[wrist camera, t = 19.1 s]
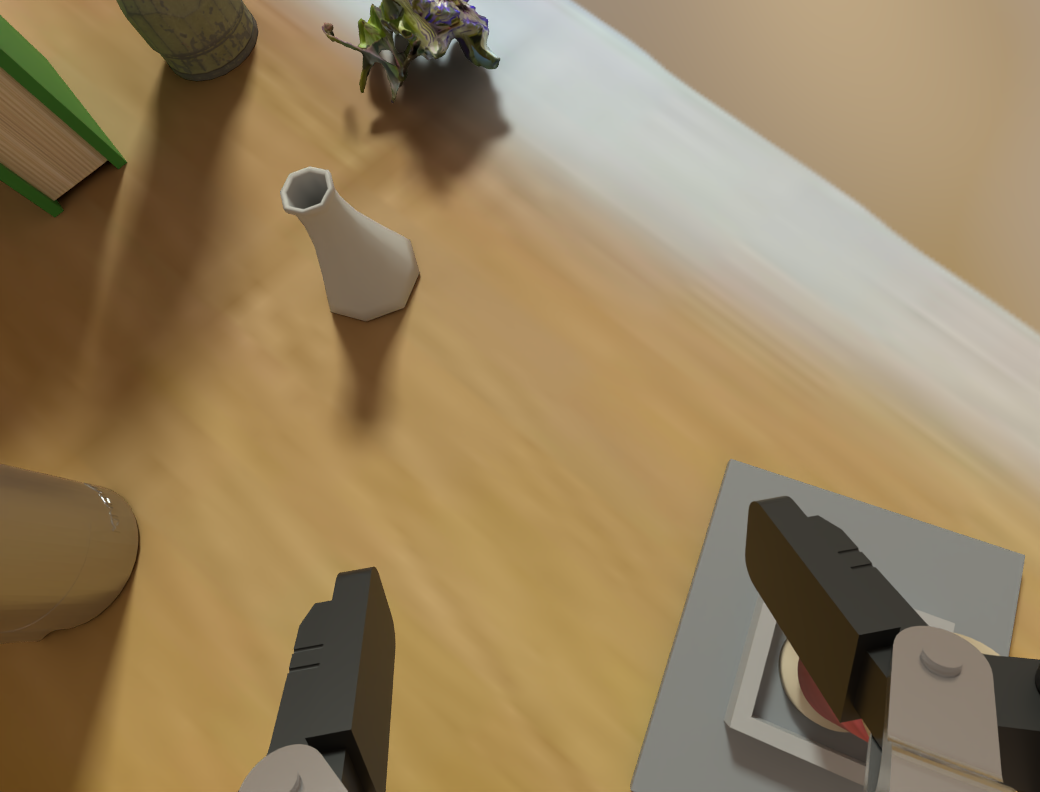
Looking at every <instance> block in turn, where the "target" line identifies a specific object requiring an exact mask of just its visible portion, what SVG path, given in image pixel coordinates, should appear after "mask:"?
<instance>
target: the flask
mask: <svg viewBox="0 0 1040 792" xmlns="http://www.w3.org/2000/svg"><path fill="white" fill-rule="evenodd" d="M280 194H281V199H282V203H283V208H284V210H285V212H287V213H288V214H293V215H296V216H297V217H298V219H299V220H300V221H301V222H302V224H303V225H304V226H305V228H306V230H307V232H308V234H309V236H310V238H311V240H312V242H313V244H314V246H315V249H316V253H317V257H318V261H319V264H320V268H321V272H322V275H323V280H324V284H325V289H326V293H327V298H328V302H329V306H330V310H331V312H333V313H337V314H341V315H344V316H348V317H352V318H355V319H359V320H363V321H369V320H371V319H374V318H377V317H380V316H382V315H385V314H388V313H391V312H394V311H396V310H399V309H402V308H404V307H405V305H406V303H407V300H408V298H409V296H410V293H411V291H412V289H413V287H414V284H415V282H416V280H417V277H418V275H419V273H420V272H419V269H418V265H417V262H416V258H415V255H414V252H413V248H412V245H411V241H410V240H409V239H407V238H405V237H404V236H402V235H400V234H398V233H396V232H394V231H392V230H390V229H388V228H386V227H384V226H382V225H380V224H379V223H377V222H375V221H373V220H372V219H370V218H368V217H367V216H365V215H363V214H361V213H360V212H358V211H356V210H355V209H354V208H353V207H352V206H351V205H349V204H348V203H347V202H346V201H345V200H344V199H343V198H342V197H341V196H340V195H339V194H338V192H337V191H336V190H335V188H334V184H333V180H332V176H331V173H330V172H329V170H324V169H320V168H315V167H307V168H304V169H302V170H299V171H296V172H294V173H291V174H289V176H288V178H287V180H286V182H285V184H284V186H283V187H282V189H281V191H280Z"/></svg>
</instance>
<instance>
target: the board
mask: <svg viewBox="0 0 1040 792" xmlns="http://www.w3.org/2000/svg"><path fill="white" fill-rule="evenodd" d="M781 496H789V497H790V498H792V499H793V500H794V502H795V503H796V504H797V505H798V506H799V507H800V509H801V510H802V511H803V512H804V513H805V515H806V516H807V517H810V516H816V515H819V516H820V517H822V518H824V519H825V520H827V521H829V522H830V523H832V524H834V525H835V526H837V527H839V528H840V529H842V530H843V531H844V532H845V533H846V535H847V536H848V537H849V538H850V539H851V540H852V541H853V542H854V543H855V545H856V546H857V547H858V549H859V551H860V552H863V553H864V555H865V556H866V557H867V558H868V559H869V560H870V561H871V562H872V565H873V567H876V568H877V569H878V570H879V571H880V572H881V573H882V575H883V576H884V577H885V578H886V579H887V580H888V581H889V582H890V583H891V585H892V586H893V587H894V588H895V589H896V590H897V591H898V592H899V593H900V595H901V596H902V597H903V598H904V599H905V600H906V601H907V602H908V603H909V605H910V606H911V607H912V608H913V609H914V610H915V611H916V612H917V613H918V615H919V616H920V617H921V618H922V619H923V620H924V621H925V622H926V623H927V624H928V625H929V626H931V627H936V628H940V629H944V630H947V631H949V632H953V633H957V634H961V635H964V636H967V637H970V638H972V639H974V640H977V641H979V642H981V643H983V644H984V645H986V646H988V647H989V648H991V649H992V650H994V651H995V652H996V653H998V654H999V655H1000V656H1006V657H1008V656H1009V650H1010V644H1011V638H1012V632H1013V626H1014V620H1015V614H1016V608H1017V602H1018V596H1019V590H1020V584H1021V577H1022V571H1023V565H1024V559H1025V555H1023V554H1019V553H1016V552H1013V551H1010V550H1007V549H1004V548H1001V547H998V546H995V545H992V544H989V543H986V542H983V541H980V540H977V539H974V538H971V537H968V536H965V535H962V534H959V533H955V532H952V531H949V530H946V529H943V528H940V527H937V526H934V525H931V524H928V523H925V522H922V521H919V520H916V519H913V518H910V517H907V516H904V515H901V514H898V513H894V512H891V511H888V510H885V509H882V508H879V507H876V506H873V505H870V504H867V503H864V502H861V501H858V500H855V499H852V498H849V497H846V496H843V495H840V494H837V493H834V492H830V491H827V490H824V489H821V488H818V487H815V486H812V485H809V484H806V483H803V482H800V481H797V480H794V479H791V478H788V477H785V476H782V475H779V474H776V473H773V472H770V471H766V470H763V469H760V468H757V467H754V466H751V465H748V464H745V463H742V462H739V461H736V460H733V459H730V461H729V462H728V464H727V467H726V471H725V474H724V477H723V480H722V484H721V487H720V490H719V494H718V497H717V500H716V504H715V507H714V510H713V513H712V517H711V520H710V523H709V527H708V530H707V533H706V537H705V540H704V543H703V546H702V550H701V553H700V556H699V560H698V563H697V566H696V570H695V573H694V576H693V579H692V583H691V586H690V589H689V593H688V596H687V599H686V603H685V606H684V609H683V612H682V616H681V619H680V622H679V626H678V629H677V632H676V636H675V639H674V642H673V645H672V649H671V652H670V655H669V659H668V662H667V665H666V669H665V672H664V675H663V678H662V682H661V685H660V688H659V692H658V695H657V698H656V702H655V705H654V708H653V711H652V715H651V718H650V721H649V725H648V728H647V731H646V735H645V738H644V741H643V744H642V748H641V751H640V754H639V758H638V761H637V764H636V768H635V771H634V774H633V777H632V781H631V784H630V787H631V790H632V791H634V792H864V783H865V772H866V761H867V750H868V742H866V741H864V740H863V739H861V738H859V737H857V736H855V735H854V734H852V733H850V732H838V731H834V730H830V729H827V728H825V727H822V726H820V725H819V724H817V723H815V722H813V721H812V720H810V719H809V718H807V717H806V716H804V715H803V714H802V713H801V712H800V711H799V710H797V708H796V707H795V706H794V705H793V704H792V703H791V701H790V700H789V698H788V697H787V695H786V693H785V691H784V689H783V686H782V684H781V680H780V676H779V668H778V662H779V655H780V651H781V648H782V645H783V643H784V642H785V640H786V636H785V635H784V633H783V631H782V630H781V628H780V627H779V625H778V623H777V622H776V620H775V619H774V617H773V615H772V614H771V612H770V611H769V609H768V607H767V606H766V604H765V603H764V601H763V599H762V598H761V596H760V595H759V593H758V591H757V590H756V588H755V587H754V585H753V583H752V581H751V579H750V577H749V574H748V571H747V567H746V562H745V548H746V535H747V522H748V510H749V505H750V503H751V502H753V501H758V500H764V499H769V498H775V497H781Z"/></svg>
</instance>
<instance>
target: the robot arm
mask: <svg viewBox="0 0 1040 792" xmlns="http://www.w3.org/2000/svg"><path fill="white" fill-rule="evenodd" d="M137 550H138V528H137V523H136V519H135V516H134V514H133V512H132V510H131V508H130V506H129V505H128V504H127V502H126V501H125V500H124V499H123V498H122V497H121V496H120V495H118V494H117V493H115V492H114V491H112V490H109V489H106V488H103V487H100V486H95V485H91V484H87V483H82V482H77V481H73V480H69V479H64V478H60V477H56V476H52V475H48V474H43V473H39V472H34V471H30V470H25V469H21V468H16V467H12V466H7V465H3V464H0V644H4V643H19V642H34V641H40V640H42V639H43V638H44V637H45V636H46V635H47V634H49V633H50V632H52V631H55V630H60V629H68V628H73V627H76V626H79V625H81V624H84V623H86V622H88V621H89V620H91V619H93V618H94V617H96V616H98V615H99V614H100V613H101V612H103V611H104V610H105V609H106V608H107V607H108V606H109V605H110V604H111V603H112V602H113V601H114V600H115V598H116V597H117V596H118V595H119V593H120V592H121V591H122V589H123V587H124V586H125V584H126V582H127V580H128V579H129V577H130V574H131V572H132V569H133V566H134V563H135V561H136V555H137ZM745 562H746V567H747V571H748V574H749V577H750V579H751V581H752V583H753V585H754V587H755V588H756V590H757V591H758V593H759V595H760V596H761V598H762V599H763V601H764V603H765V604H766V606H767V607H768V609H769V611H770V612H771V614H772V615H773V617H774V619H775V620H776V622H777V623H778V625H779V627H780V628H781V630H782V631H783V633H784V635H785V636H786V638H787V639H788V641H789V642H790V644H791V646H792V647H793V649H794V650H795V652H796V654H797V655H798V657H799V658H800V660H801V662H802V663H803V665H804V666H805V668H806V670H807V671H808V673H809V674H810V676H811V678H812V679H813V681H814V682H815V684H816V686H817V687H818V689H819V690H820V692H821V693H822V695H823V697H824V698H825V700H826V701H827V703H828V705H829V706H830V708H831V709H832V711H833V713H834V714H835V716H836V717H837V719H838V721H839V722H840V723H842V722H847V721H853V720H858V719H862V720H863V722H864V723H865V725H866V726H867V728H868V729H869V731H870V736H869V741H868V750H867V761H866V772H865V783H864V792H1015V790H1017V792H1040V660H1037V659H1027V658H1017V657H1006V656H996V655H988V654H983V653H981V652H980V651H979V650H978V649H977V648H976V647H975V646H974V645H972V644H971V643H970V642H968V641H967V640H965V639H964V638H962V637H960V636H958V635H956V634H954V633H952V632H949V631H947V630H944V629H940V628H936V627H931V626H929V625H928V624H927V623H926V622H925V621H924V620H923V619H922V618H921V617H920V616H919V615H918V613H917V612H916V611H915V610H914V609H913V608H912V607H911V606H910V605H909V603H908V602H907V601H906V600H905V599H904V598H903V597H902V596H901V595H900V593H899V592H898V591H897V590H896V589H895V588H894V587H893V586H892V585H891V583H890V582H889V581H888V580H887V579H886V578H885V577H884V576H883V575H882V573H881V572H880V571H879V570H878V569H877V568H876V567H873V565H872V562H871V561H870V560H869V559H868V558H867V557H866V556H865V555H864V553H863V552H860V551H859V549H858V547H857V546H856V545H855V543H854V542H853V541H852V540H851V539H850V538H849V537H848V536H847V535H846V533H845V532H844V531H843V530H842V529H840V528H839V527H837V526H835V525H834V524H832V523H830V522H829V521H827V520H825V519H824V518H822V517H820V516H819V515H816V516H810V517H807V516H806V515H805V513H804V512H803V511H802V510H801V509H800V507H799V506H798V505H797V504H796V503H795V502H794V500H793V499H792V498H790V497H789V496H781V497H775V498H769V499H764V500H758V501H753V502H751V503H750V505H749V510H748V522H747V535H746V548H745ZM394 660H395V631H394V624H393V619H392V615H391V612H390V609H389V606H388V602H387V599H386V596H385V593H384V589H383V586H382V583H381V580H380V576H379V573H378V571H377V569H376V568H375V567H370V568H365V569H359V570H353V571H348V572H342V573H339V574H338V575H337V578H336V583H335V588H334V593H333V598H332V601H326V602H321V603H315V604H314V606H313V607H312V608H311V610H310V611H309V613H308V614H307V616H306V617H305V619H304V620H303V621H302V623H301V624H300V626H299V630H298V634H297V638H296V642H295V646H294V654H292V658H291V662H290V667H289V673H288V675H287V679H286V683H285V687H284V691H283V695H282V699H281V703H280V707H279V711H278V715H277V719H276V723H275V727H274V732H273V736H272V740H271V744H270V747H269V750H268V753H267V755H266V757H264V758H263V759H262V760H261V761H260V762H259V763H257V764H256V766H255V767H254V768H253V769H252V770H251V771H250V772H249V774H248V775H247V777H246V778H245V780H244V782H243V783H242V785H241V787H240V790H239V791H238V792H385V791H386V777H387V762H388V748H389V733H390V719H391V704H392V689H393V675H394Z"/></svg>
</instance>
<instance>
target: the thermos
mask: <svg viewBox="0 0 1040 792" xmlns="http://www.w3.org/2000/svg"><path fill="white" fill-rule="evenodd" d="M117 2H118V4H119V6H120V9H121V10H122V12H123V13H124V15H125V17H126V18H127V19H128V21H129V22H130V23H131V24H132V25H133V27H134V28H135V29H136V30H137V31H138V32H139V34H140V35H141V36H142V37H143V38H144V40H145V41H146V42H147V43H148V44H149V46H150V47H151V48H152V49H153V50H155V51H156V52H158V53H160V54H161V56H162V57H163V58H164V59H165V60H166V62H167V63H168V65H169V66H170V68H171V69H172V70H173V71H174V73H175V74H177V75H179V76H180V77H182V78H184V79H188V80H193V81H202V80H210V79H214V78H216V77H219V76H222V75H224V74H226V73H228V72H229V71H231V70H233V69H234V68H236V67H237V66H239V65H240V64H241V63H242V62H243V61H244V60H245V58H246V57H247V56H248V55H249V54H250V52H251V51H252V49H253V47H254V45H255V44H256V39H257V35H258V28H257V24H256V20H255V19H254V17H253V16H252V14H251V13H250V12H249V10H248V9H247V8H246V6H245V4H244V3H243V1H242V0H117Z"/></svg>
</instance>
